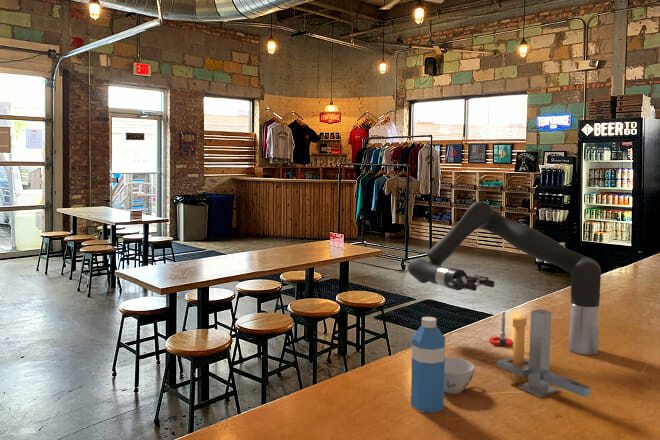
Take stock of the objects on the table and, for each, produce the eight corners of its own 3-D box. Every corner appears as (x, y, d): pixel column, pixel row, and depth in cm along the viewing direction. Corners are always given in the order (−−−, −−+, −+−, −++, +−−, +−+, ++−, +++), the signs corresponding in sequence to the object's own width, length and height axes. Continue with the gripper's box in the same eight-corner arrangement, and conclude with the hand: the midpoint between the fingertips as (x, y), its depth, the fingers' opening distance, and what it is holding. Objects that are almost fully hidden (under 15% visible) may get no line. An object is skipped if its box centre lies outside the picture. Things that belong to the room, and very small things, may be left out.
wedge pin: (518, 377, 174) (520, 316, 172) (526, 381, 171) (528, 318, 169) (508, 380, 172) (510, 318, 170) (516, 384, 169) (519, 320, 167)
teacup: (455, 402, 157) (455, 375, 156) (422, 388, 166) (422, 363, 165) (487, 389, 166) (488, 363, 165) (454, 376, 176) (454, 352, 175)
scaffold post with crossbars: (496, 379, 173) (498, 304, 170) (516, 373, 178) (518, 300, 175) (576, 414, 149) (580, 328, 147) (596, 406, 154) (601, 322, 151)
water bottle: (407, 399, 159) (408, 314, 156) (439, 397, 160) (440, 313, 157) (414, 413, 150) (416, 324, 147) (448, 412, 151) (450, 323, 148)
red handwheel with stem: (487, 339, 213) (491, 346, 204) (488, 306, 212) (492, 311, 203) (510, 340, 211) (514, 347, 202) (511, 307, 211) (515, 312, 201)
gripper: (436, 270, 197) (470, 277, 183) (464, 265, 204) (499, 272, 191) (436, 290, 198) (469, 299, 184) (464, 285, 205) (499, 293, 191)
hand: (484, 286), depth 187 cm, fingers open, 8 cm apart
